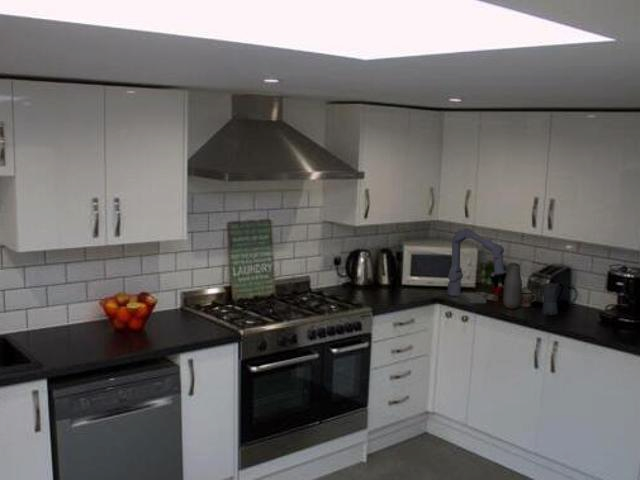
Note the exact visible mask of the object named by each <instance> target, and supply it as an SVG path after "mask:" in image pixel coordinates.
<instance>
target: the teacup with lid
mask: <svg viewBox="0 0 640 480" xmlns="http://www.w3.org/2000/svg"><path fill="white" fill-rule="evenodd" d="M533 296H534V299H533V300H532V297H533ZM535 301H537V295H536V294H534V293H533V291H532V290H530V289H529V288H528V287H527V286H522V291H521V302H520V305H519V307H523V308H530V307H531V306H532V302H533V303H535Z"/></svg>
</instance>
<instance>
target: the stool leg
mask: <svg viewBox="0 0 640 480" xmlns="http://www.w3.org/2000/svg"><path fill="white" fill-rule="evenodd" d="M476 293H477V294H479V295H480V296H482V297H484V298H485V299H486V300H489V301H493V302H497V301H498V302H499V295H495V294H492V293H487V292H483V291H479V290H478V291H476Z"/></svg>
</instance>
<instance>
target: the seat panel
mask: <svg viewBox="0 0 640 480" xmlns="http://www.w3.org/2000/svg"><path fill="white" fill-rule="evenodd" d="M460 294H461V296H460V297H461V298H462V299H464V300H465V301H466V302H469V303H470V304H486V303H487V299H485V298H484V297H482V296H480V295H479V294H477V292H460Z"/></svg>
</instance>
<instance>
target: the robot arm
mask: <svg viewBox="0 0 640 480" xmlns="http://www.w3.org/2000/svg"><path fill="white" fill-rule="evenodd" d="M467 239H472V240H473V241H475V242H478V243H479V244H481V245H482V247H483V248H484V249H486V250H487V251H489V252H491V254H492V255H493V268H494V271H493V272H491V273H490V277H489V278H490V279H491V281H492V282H493V286H494V288H498V287H499V282H500V281H501V282H500V283H501V286H503V287H504V281H505V277H506V274H507V270H505V269H504V252H505V248H504V247H503V246H502V245H501V244H498V243H495V242H493V241H492V240H491V239H490V238H489V239H488V238H487V239H485V238H483V237H482V236H480V234H477V233H476V232H474V231H473V230H472V229H469V228H462V229H458V230H457V231H455V232H454V236H453V238H452V239H451V267H450V269H449V273H448V275H447V278H448V280H449V281H448V283H447V291H446V294H447V295H449V296H451V297H453V296H454V297H455V296H460V297H461V287H462V286H461V285H462V279H463V277H464V274H463V270H462V267H461V243H463V241H465V240H467ZM499 280H500V281H499Z"/></svg>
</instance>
